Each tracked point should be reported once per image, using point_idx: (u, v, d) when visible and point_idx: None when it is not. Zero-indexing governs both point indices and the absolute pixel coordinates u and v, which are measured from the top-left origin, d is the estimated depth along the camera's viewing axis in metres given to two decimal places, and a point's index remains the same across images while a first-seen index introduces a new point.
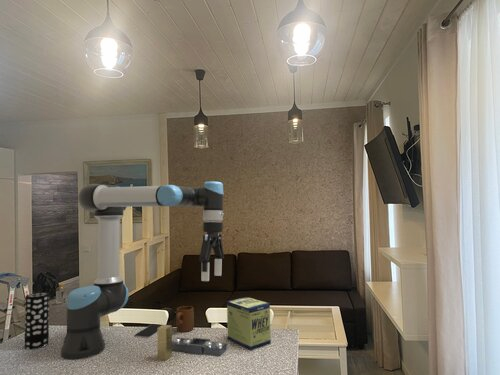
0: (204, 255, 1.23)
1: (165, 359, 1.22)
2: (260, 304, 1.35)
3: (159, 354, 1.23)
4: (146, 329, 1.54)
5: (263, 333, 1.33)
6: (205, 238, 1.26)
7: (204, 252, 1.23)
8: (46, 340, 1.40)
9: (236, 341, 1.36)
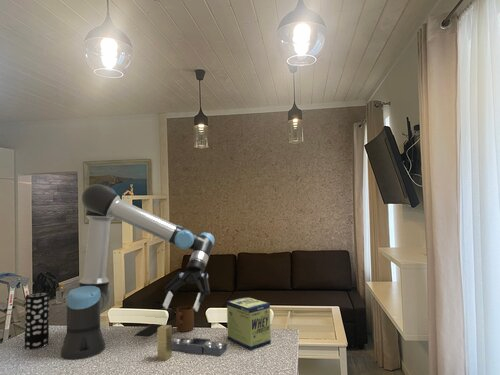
0: (209, 289, 1.39)
1: (165, 359, 1.22)
2: (260, 304, 1.35)
3: (159, 354, 1.23)
4: (146, 329, 1.54)
5: (263, 333, 1.33)
6: (207, 276, 1.44)
7: (208, 287, 1.40)
8: (46, 340, 1.40)
9: (236, 341, 1.36)
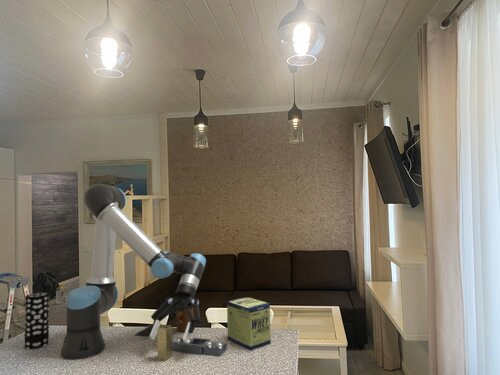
0: (200, 318, 1.29)
1: (165, 359, 1.22)
2: (260, 304, 1.35)
3: (159, 354, 1.23)
4: (146, 329, 1.54)
5: (263, 333, 1.33)
6: (197, 302, 1.34)
7: (199, 315, 1.30)
8: (46, 340, 1.40)
9: (236, 341, 1.36)
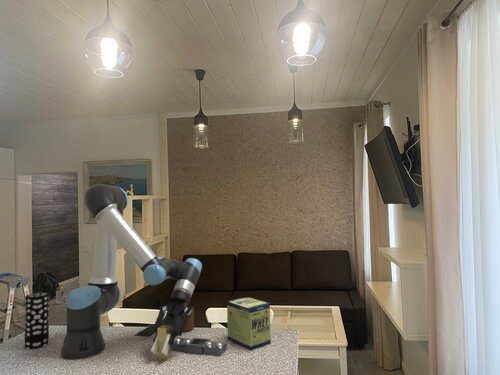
0: (182, 330, 1.26)
1: (165, 359, 1.22)
2: (260, 304, 1.35)
3: (159, 354, 1.23)
4: (146, 329, 1.54)
5: (263, 333, 1.33)
6: (189, 313, 1.30)
7: (183, 327, 1.27)
8: (46, 340, 1.40)
9: (236, 341, 1.36)
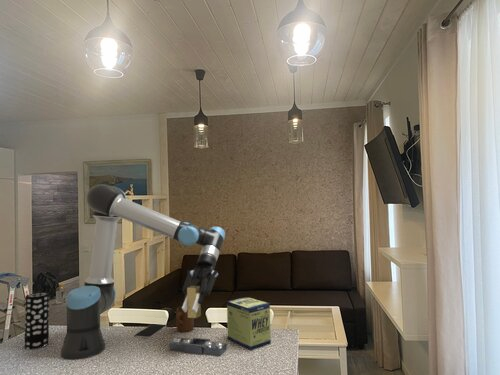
0: (210, 290, 1.33)
1: (195, 316, 1.29)
2: (260, 304, 1.35)
3: (189, 312, 1.30)
4: (146, 329, 1.54)
5: (263, 333, 1.33)
6: (216, 275, 1.37)
7: (211, 287, 1.33)
8: (46, 340, 1.40)
9: (236, 341, 1.36)
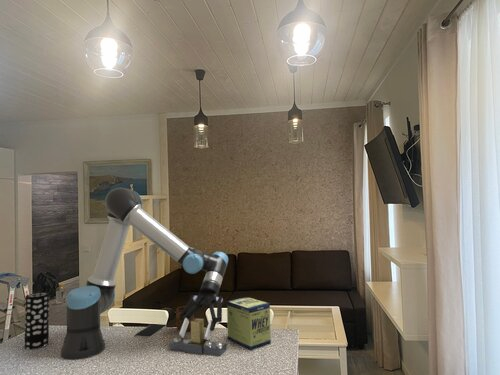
0: (221, 316, 1.33)
1: None
2: (260, 304, 1.35)
3: None
4: (146, 329, 1.54)
5: (263, 333, 1.33)
6: (221, 300, 1.38)
7: (221, 313, 1.34)
8: (46, 340, 1.40)
9: (236, 341, 1.36)
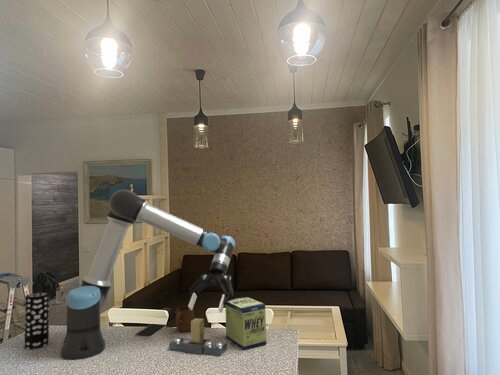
0: (232, 291, 1.44)
1: None
2: (255, 304, 1.35)
3: None
4: (146, 329, 1.54)
5: (258, 334, 1.33)
6: (230, 278, 1.49)
7: (232, 289, 1.45)
8: (46, 340, 1.40)
9: (232, 340, 1.37)
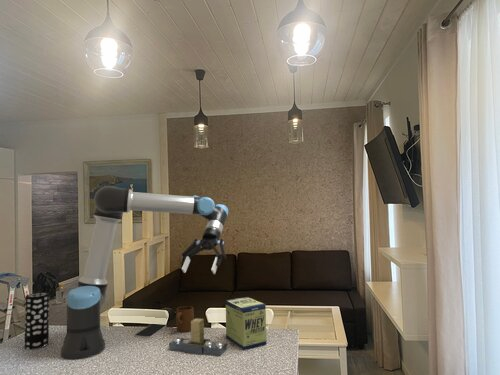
0: (225, 254, 1.47)
1: None
2: (255, 304, 1.35)
3: None
4: (146, 329, 1.54)
5: (258, 334, 1.33)
6: (223, 242, 1.51)
7: (224, 252, 1.47)
8: (46, 340, 1.40)
9: (232, 340, 1.37)
